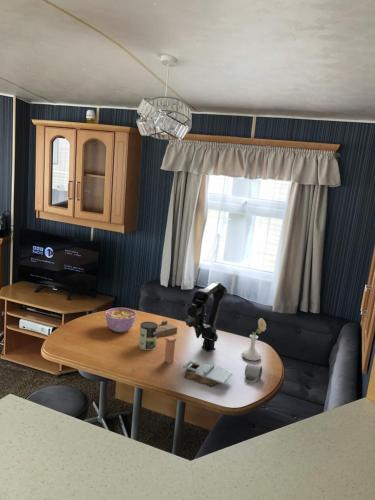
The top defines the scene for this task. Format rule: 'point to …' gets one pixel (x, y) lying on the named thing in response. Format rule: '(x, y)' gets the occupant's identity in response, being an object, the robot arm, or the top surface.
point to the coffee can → (148, 335)
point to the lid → (209, 372)
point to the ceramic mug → (253, 372)
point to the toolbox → (197, 378)
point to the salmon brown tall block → (169, 349)
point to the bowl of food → (120, 319)
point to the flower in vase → (252, 352)
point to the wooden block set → (166, 329)
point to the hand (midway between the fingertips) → (197, 337)
